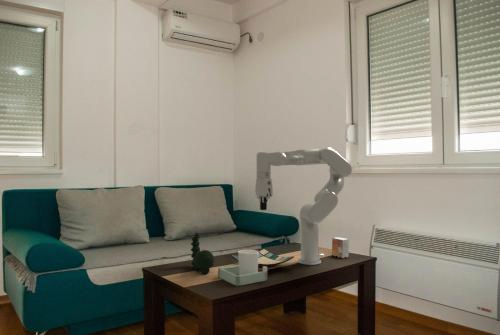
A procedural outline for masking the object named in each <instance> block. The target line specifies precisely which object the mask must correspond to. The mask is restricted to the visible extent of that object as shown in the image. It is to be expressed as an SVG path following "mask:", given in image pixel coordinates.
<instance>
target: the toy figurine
mask: <svg viewBox="0 0 500 335" xmlns="http://www.w3.org/2000/svg"><path fill="white" fill-rule="evenodd" d="M200 237H201V234H200V232H195V233H194V235H193V237H191V241H192V242H191V243H190V245H191V246H192V247H191V248H190V251H191V252H192V253H191V255H190V256H191V258H192V262H191V265H192V269H194V271H199V270H200V273H201V274H202V275H207V274H209V273H210V271H211V270H210V269H211V268H212V267H213V266H214V263H215V257H214V254H213V253H212V252H211V251H209V250H208V249H203V250H201V248H200Z"/></svg>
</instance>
